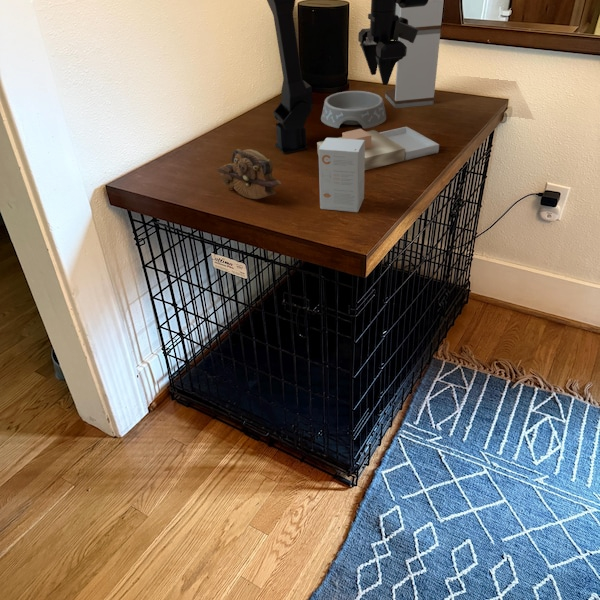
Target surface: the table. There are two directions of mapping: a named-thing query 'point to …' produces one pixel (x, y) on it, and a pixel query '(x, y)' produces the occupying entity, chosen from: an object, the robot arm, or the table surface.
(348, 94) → the dog bowl
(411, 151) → the bin
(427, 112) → the table surface
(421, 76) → the banded white pillar
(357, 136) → the tall peach block
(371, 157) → the platform
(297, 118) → the robot arm
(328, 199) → the small box
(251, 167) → the wooden carving
